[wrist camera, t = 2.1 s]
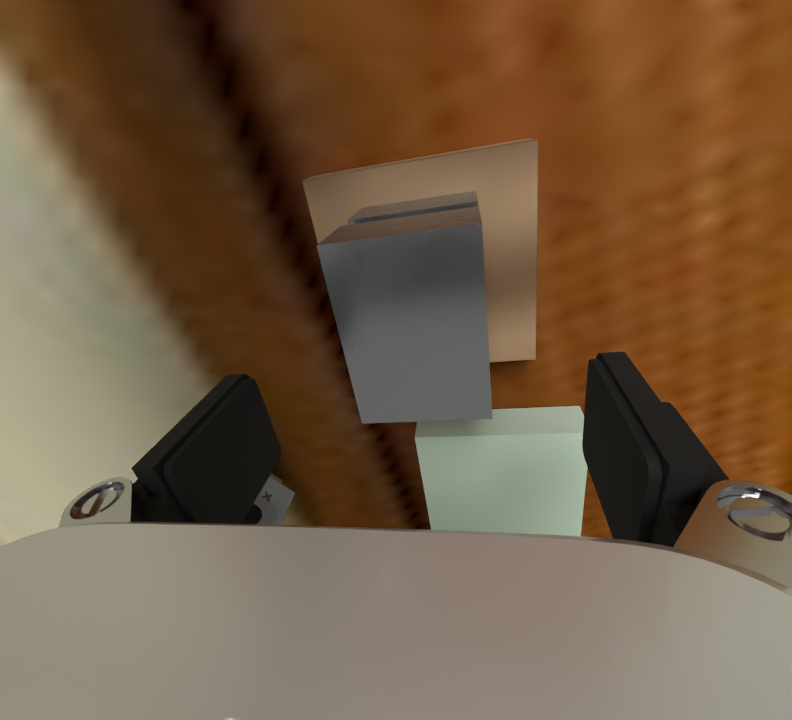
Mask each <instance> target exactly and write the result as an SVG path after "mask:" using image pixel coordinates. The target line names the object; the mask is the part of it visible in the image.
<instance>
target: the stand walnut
mask: <svg viewBox="0 0 792 720" xmlns="http://www.w3.org/2000/svg"><path fill="white" fill-rule="evenodd" d="M302 183H303V187H304V191H305V195H306V199H307V203H308V206H309V210H310V214H311V218H312V222H313V226H314V230H315V234H316V238H317V242H318V244H319V243H320V242H321V241H323V240H324V239H325V238H326V237H327V236H329V235H330V234H331V233H332V232H334V231H335V230H336V229H337V228H338V227H340V226H343V225H348V222H347V220H348V219H349V218H351V217H352V216H353V215H354V214H355V213H357V212H358V211H359V210H360V209H362V208H363V207H370V206H376V205H383V204H390V203H396V202H403V201H410V200H416V199H423V198H429V197H436V196H443V195H449V194H456V193H463V192H469V191H476V195H477V200H478V206H479V210H480V215H481V221H482V232H483V251H484V270H485V288H486V307H487V325H488V344H489V362H502V361H517V360H533V359H536V277H537V190H538V140H536V139H531V138H527V139H522V140H516V141H510V142H504V143H498V144H493V145H487V146H481V147H475V148H469V149H464V150H458V151H452V152H446V153H441V154H435V155H429V156H423V157H417V158H412V159H406V160H400V161H394V162H388V163H383V164H377V165H371V166H365V167H359V168H354V169H348V170H342V171H336V172H331V173H325V174H319V175H316V176H313V177H310V178H307V179H305V180H302Z"/></svg>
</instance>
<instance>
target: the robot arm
mask: <svg viewBox="0 0 792 720" xmlns="http://www.w3.org/2000/svg"><path fill="white" fill-rule="evenodd" d="M582 449H583V455H584V458H585V461H586V464H587V467H588V469H589V472H590V475H591V478H592V480H593V483H594V486H595V489H596V492H597V494H598V497H599V500H600V503H601V506H602V508H603V511H604V514H605V517H606V519H607V522H608V525H609V528H610V531H611V533H612V536H613V539H610V538H596V537H582V536H568V535H551V534H524V533H503V532H476V531H449V530H422V529H395V528H364V527H333V526H299V525H264V524H241V523H242V522H243V520H244V518H245V517H246V515H247V513H248V512H249V510H250V508H251V507H252V505H253V503H254V501H255V500H256V498H257V496H258V495H259V493H260V491H261V490H262V488H263V486H264V485H265V483H266V481H267V480H268V478H269V476H270V475H271V473H272V471H273V469H274V468H275V466H276V464H277V463H278V461H279V459H280V456H281V448H280V445H279V442H278V439H277V437H276V434H275V431H274V429H273V426H272V423H271V420H270V418H269V415H268V412H267V410H266V407H265V404H264V402H263V399H262V396H261V394H260V391H259V388H258V386H257V383H256V381H255V380H254V379H251V377H250V376H249V375H247V374H240V375H227V376H226V377H225V378H224V379H223V380H222V381H221V382H220V383H218V384H217V385H216V386H215V387H214V388H213V389H212V390H211V391H210V392H209V393H208V394H207V395H206V396H205V397H204V398H203V399H202V400H201V401H200V402H199V403H198V404H197V405H196V406H195V407H194V408H193V409H192V410H191V411H190V412H189V413H188V414H187V415H186V416H185V417H184V418H183V419H182V420H180V421H179V422H178V423H177V424H176V425H175V426H174V427H173V428H172V429H171V430H170V431H169V432H168V433H167V434H166V435H165V436H164V437H163V438H162V439H161V440H160V441H159V442H158V443H157V444H156V445H155V446H154V447H153V448H152V449H151V450H150V451H149V452H148V453H147V454H146V455H145V456H144V457H142V458H141V459H140V460H139V461H138V462H137V463H136V464H135V465H134V466H133V467H132V470H133V471H134V473H135V475H136V476H137V478H138V480H137V481H136V482H135V483H134V484H132V482H131V480H129V479H127V478H122V477H118V478H112V479H108V480H105V481H102V482H100V483H98V484H96V485H94V486H92V487H90V488H88V489H87V490H85V491H84V492H82V493H81V494H79V495H78V496H77V497H76V498H75V499H73V500H72V501H71V502H70V503H69V505H68V506H67V507H66V508H65V510H64V512H63V514H62V517H61V521H60V525H59V527H58V528H56V529H51V530H47V531H44V532H40V533H37V534H34V535H30V536H27V537H24V538H21V539H19V540H16V541H14V542H11V543H9V544H6V545H4V546H2V547H0V720H792V496H791V495H789V494H787V493H785V492H783V491H781V490H779V489H776V488H774V487H772V486H769V485H765V484H762V483H759V482H755V481H748V480H741V479H732V480H729V478H728V477H727V476H726V474H725V473H724V472H723V470H722V469H721V468H720V466H719V465H718V464H717V463H716V461H715V460H714V459H713V457H712V456H711V455H710V453H709V452H708V451H707V449H706V448H705V447H704V446H703V444H702V443H701V442H700V440H699V439H698V438H697V436H696V435H695V434H694V432H693V431H692V430H691V428H690V427H689V426H688V425H687V423H686V422H685V421H684V419H683V418H682V417H681V415H680V414H679V413H678V411H677V410H676V409H675V408H674V406H672V405H671V404H670V403H668V402H661V401H660V400H659V399H658V397H657V396H656V395H655V393H654V392H653V390H652V389H651V388H650V386H649V385H648V384H647V382H646V381H645V379H644V378H643V377H642V375H641V374H640V373H639V371H638V370H637V368H636V367H635V366H634V364H633V363H632V362H631V360H630V359H629V357H628V356H627V355H626V353H625V352H611V353H598V355H597V357H596V359H590V360H589V363H588V374H587V387H586V400H585V413H584V426H583V439H582Z"/></svg>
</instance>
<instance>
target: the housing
mask: <svg viewBox="0 0 792 720" xmlns="http://www.w3.org/2000/svg"><path fill="white" fill-rule="evenodd" d="M347 222H348V225H343V226H340V227H338V228H337V229H336V230H335V231H334V232H332V233H331V234H330V235H329V236H327V237H326V238H325V239H324V240H323V241H321V242H320V243H319V244H318V245H317V250H318V253H319V257H320V261H321V265H322V269H323V273H324V277H325V281H326V285H327V289H328V292H329V296H330V300H331V304H332V308H333V312H334V316H335V320H336V324H337V328H338V332H339V335H340V339H341V343H342V347H343V351H344V355H345V359H346V363H347V367H348V371H349V374H350V378H351V382H352V386H353V390H354V394H355V398H356V402H357V406H358V410H359V414H360V417H361V421H362V424H363V423H391V422H420V421H448V420H477V419H492V400H491V381H490V363H489V344H488V325H487V307H486V288H485V270H484V251H483V232H482V221H481V215H480V210H479V206H478V200H477V195H476V191H469V192H463V193H456V194H449V195H443V196H436V197H429V198H423V199H416V200H410V201H403V202H396V203H390V204H383V205H376V206H370V207H363V208H362V209H360V210H359V211H358V212H357V213H355V214H354V215H353V216H352V217H351V218H349V219H348V220H347Z"/></svg>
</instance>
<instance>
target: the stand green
mask: <svg viewBox="0 0 792 720" xmlns="http://www.w3.org/2000/svg"><path fill="white" fill-rule="evenodd" d="M583 426H584V415H583V413H582V410H581V408H580V406H564V407H539V408H514V409H492V419H477V420H448V421H420V422H417V426H416V432H415V442H416V448H417V453H418V459H419V465H420V470H421V476H422V481H423V487H424V493H425V498H426V504H427V509H428V515H429V521H430V526H431V530H449V531H476V532H503V533H524V534H551V535H568V536H581V527H582V517H583V507H584V496H585V486H586V476H587V464H586V461H585V458H584V455H583V449H582V439H583Z"/></svg>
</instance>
